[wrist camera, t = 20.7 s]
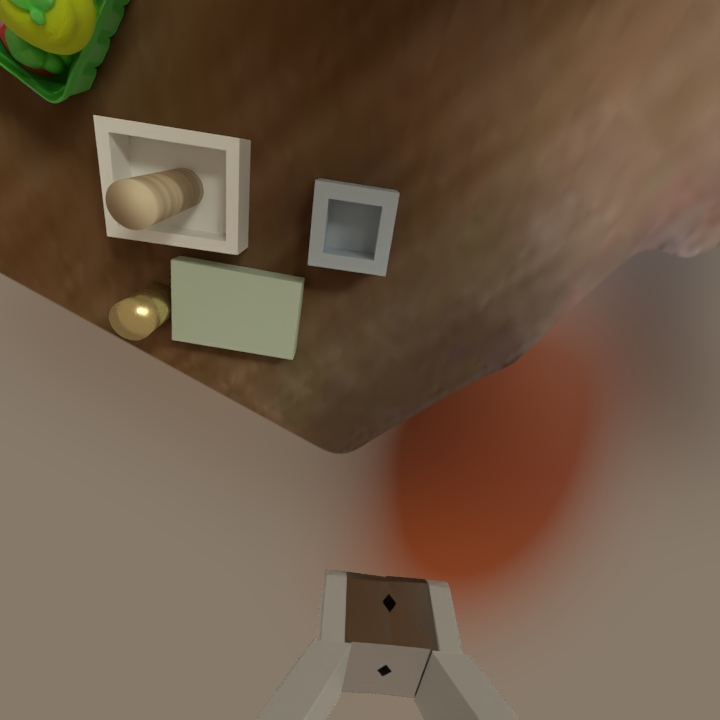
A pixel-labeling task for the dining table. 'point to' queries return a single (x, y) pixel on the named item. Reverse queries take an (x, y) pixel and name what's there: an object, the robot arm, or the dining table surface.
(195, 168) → the tray
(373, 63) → the dining table surface
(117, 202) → the dowel
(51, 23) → the fruit basket
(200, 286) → the plate board
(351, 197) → the socket block
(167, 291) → the cylinder
